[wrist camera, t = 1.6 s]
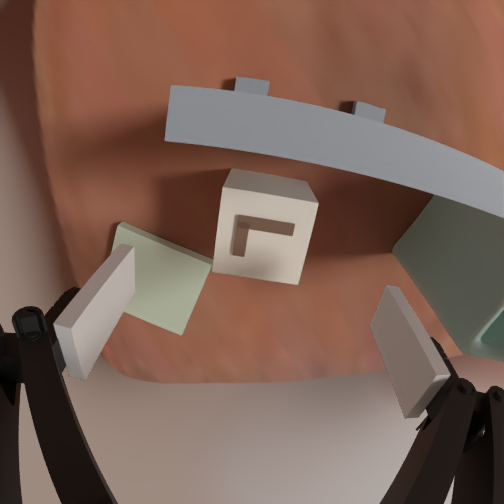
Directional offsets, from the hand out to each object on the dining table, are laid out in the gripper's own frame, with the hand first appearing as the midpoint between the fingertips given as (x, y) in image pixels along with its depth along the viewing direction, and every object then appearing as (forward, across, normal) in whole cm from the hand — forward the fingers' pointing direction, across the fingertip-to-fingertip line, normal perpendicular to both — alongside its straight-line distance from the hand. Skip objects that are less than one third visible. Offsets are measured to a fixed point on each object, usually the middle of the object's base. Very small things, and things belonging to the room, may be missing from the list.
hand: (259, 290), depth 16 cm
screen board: (+11, +2, +8) cm, 14 cm away
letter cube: (+12, 0, 0) cm, 12 cm away
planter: (+12, +18, +5) cm, 22 cm away
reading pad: (+12, -9, -8) cm, 17 cm away
